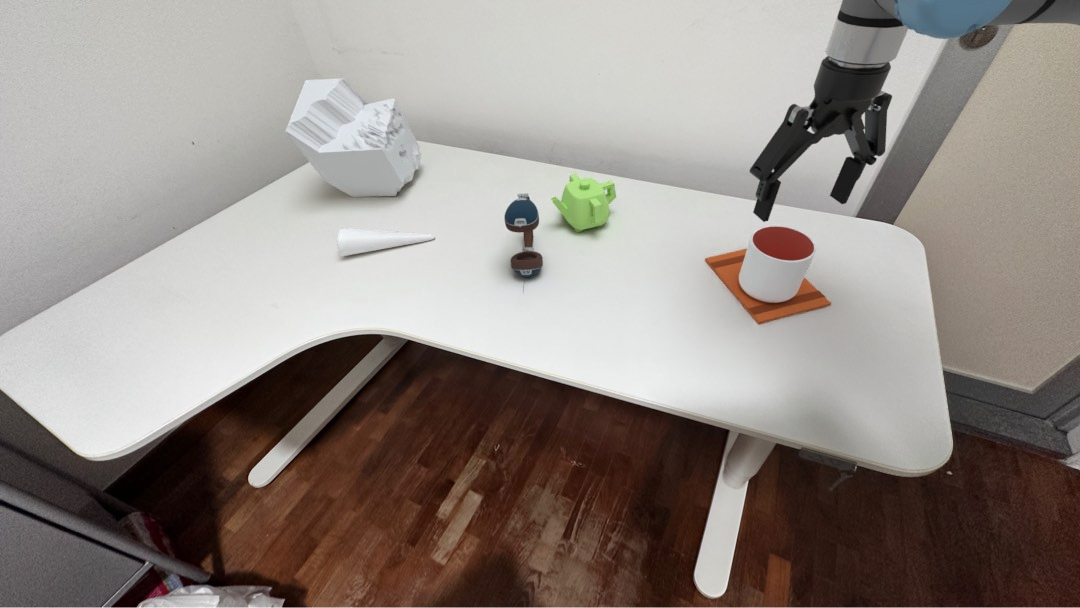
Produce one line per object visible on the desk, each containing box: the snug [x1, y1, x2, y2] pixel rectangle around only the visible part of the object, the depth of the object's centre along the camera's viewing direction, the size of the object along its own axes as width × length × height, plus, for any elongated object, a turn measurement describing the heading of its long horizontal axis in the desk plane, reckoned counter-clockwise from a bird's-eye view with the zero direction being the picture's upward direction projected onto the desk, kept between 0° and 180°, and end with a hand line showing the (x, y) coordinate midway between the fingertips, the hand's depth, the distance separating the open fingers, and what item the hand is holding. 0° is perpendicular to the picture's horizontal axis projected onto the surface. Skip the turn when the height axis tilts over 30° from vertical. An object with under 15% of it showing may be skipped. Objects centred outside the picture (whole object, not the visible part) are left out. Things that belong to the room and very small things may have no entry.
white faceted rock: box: [285, 77, 422, 198], centre depth 110 cm, size 20×16×25 cm
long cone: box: [336, 227, 436, 257], centre depth 98 cm, size 6×6×19 cm
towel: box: [704, 248, 832, 325], centre depth 85 cm, size 18×14×1 cm
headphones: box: [503, 192, 544, 294], centre depth 87 cm, size 6×15×22 cm
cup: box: [739, 225, 817, 303], centre depth 80 cm, size 10×10×10 cm
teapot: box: [550, 173, 617, 233], centre depth 99 cm, size 12×12×10 cm
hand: (799, 208), depth 71 cm, fingers open, 13 cm apart
